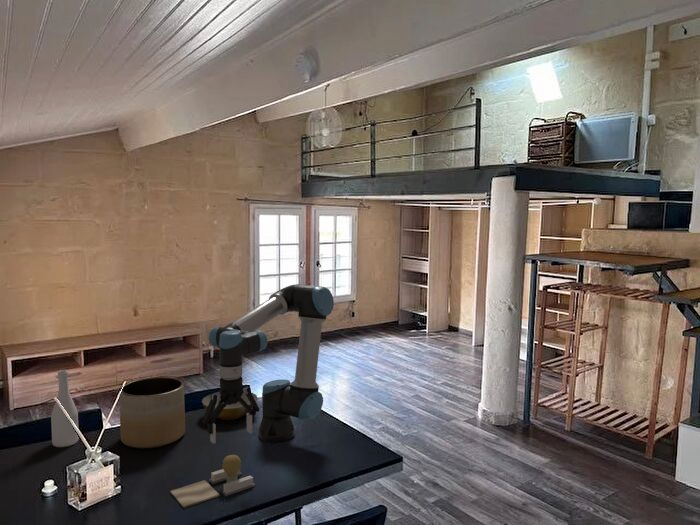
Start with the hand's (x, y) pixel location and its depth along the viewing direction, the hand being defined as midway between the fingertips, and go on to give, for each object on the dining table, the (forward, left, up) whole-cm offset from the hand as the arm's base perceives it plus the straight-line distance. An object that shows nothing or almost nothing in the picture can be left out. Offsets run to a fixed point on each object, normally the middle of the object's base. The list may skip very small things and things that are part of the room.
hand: (231, 437), depth 180 cm
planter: (-55, -9, -17) cm, 58 cm away
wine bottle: (-71, -39, -17) cm, 83 cm away
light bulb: (0, 0, -17) cm, 17 cm away
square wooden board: (-1, -13, -17) cm, 21 cm away
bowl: (-58, +27, -17) cm, 66 cm away
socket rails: (0, 0, -17) cm, 17 cm away
